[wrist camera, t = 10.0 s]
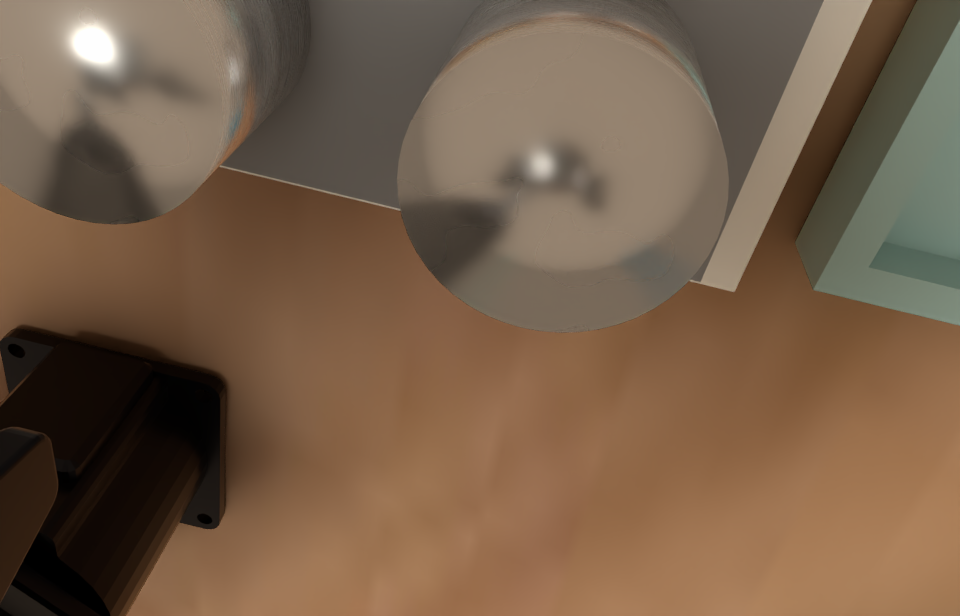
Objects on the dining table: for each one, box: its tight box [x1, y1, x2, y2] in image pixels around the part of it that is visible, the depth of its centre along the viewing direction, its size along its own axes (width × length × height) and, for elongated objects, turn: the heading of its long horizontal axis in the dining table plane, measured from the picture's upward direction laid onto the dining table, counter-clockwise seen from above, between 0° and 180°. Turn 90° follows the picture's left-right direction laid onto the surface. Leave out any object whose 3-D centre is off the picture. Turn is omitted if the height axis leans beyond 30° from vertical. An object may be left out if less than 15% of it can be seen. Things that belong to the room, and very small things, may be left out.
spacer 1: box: [0, 0, 311, 224], centre depth 12 cm, size 4×4×4 cm
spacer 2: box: [397, 0, 729, 333], centre depth 12 cm, size 4×4×4 cm
